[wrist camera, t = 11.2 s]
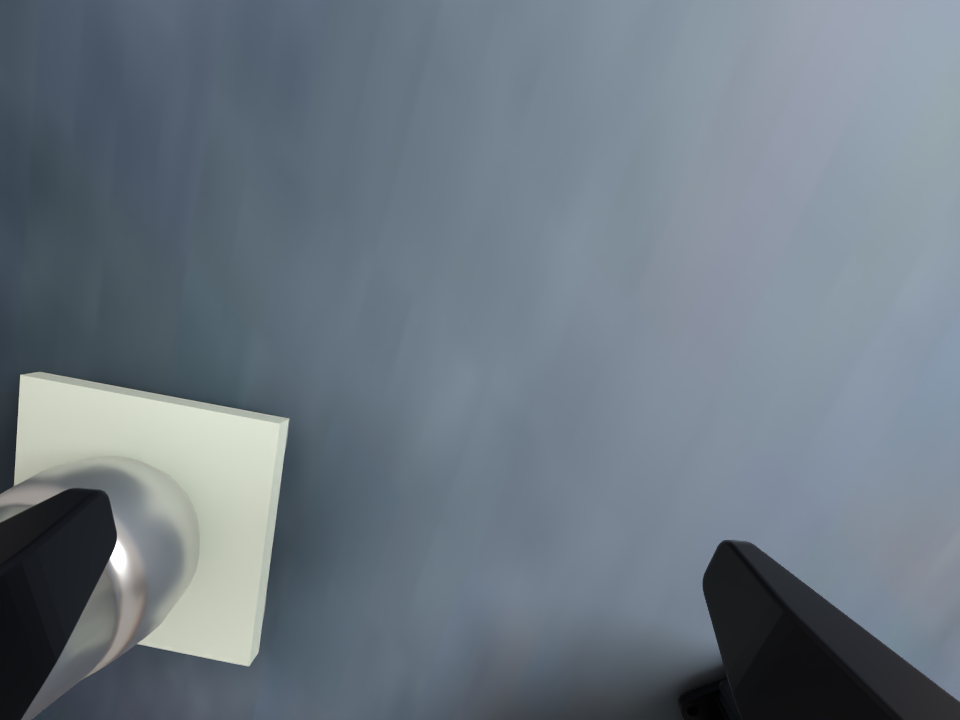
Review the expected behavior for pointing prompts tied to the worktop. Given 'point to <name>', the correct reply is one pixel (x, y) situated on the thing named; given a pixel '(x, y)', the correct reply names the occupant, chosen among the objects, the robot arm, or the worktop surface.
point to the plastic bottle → (119, 561)
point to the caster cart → (197, 470)
